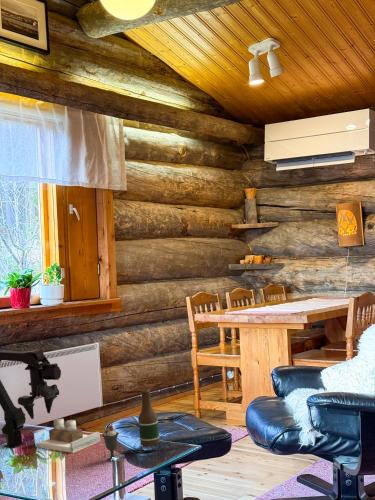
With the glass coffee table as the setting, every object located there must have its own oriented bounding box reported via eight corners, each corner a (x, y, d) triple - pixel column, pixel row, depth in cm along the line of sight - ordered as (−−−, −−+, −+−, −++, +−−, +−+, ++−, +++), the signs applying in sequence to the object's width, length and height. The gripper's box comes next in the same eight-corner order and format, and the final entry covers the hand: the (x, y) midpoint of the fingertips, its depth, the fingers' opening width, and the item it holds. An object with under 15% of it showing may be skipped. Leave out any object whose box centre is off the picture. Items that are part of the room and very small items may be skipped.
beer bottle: (141, 446, 290) (135, 388, 289) (160, 444, 291) (154, 386, 290) (141, 452, 283) (135, 392, 282) (161, 450, 283) (155, 390, 282)
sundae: (118, 462, 274) (114, 423, 273) (102, 462, 275) (98, 424, 274) (123, 456, 280) (119, 418, 280) (107, 456, 281) (103, 419, 281)
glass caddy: (49, 439, 306) (47, 421, 306) (60, 435, 311) (58, 417, 310) (72, 443, 298) (70, 424, 297) (83, 438, 302) (81, 420, 302)
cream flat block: (39, 447, 303) (38, 438, 302) (67, 436, 315) (66, 427, 315) (73, 452, 291) (72, 443, 291) (100, 441, 303) (99, 432, 303)
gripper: (33, 386, 291) (36, 424, 292) (66, 376, 306) (69, 412, 307) (15, 384, 298) (18, 421, 298) (48, 374, 313) (51, 409, 313)
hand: (40, 416), depth 304 cm, fingers open, 9 cm apart
